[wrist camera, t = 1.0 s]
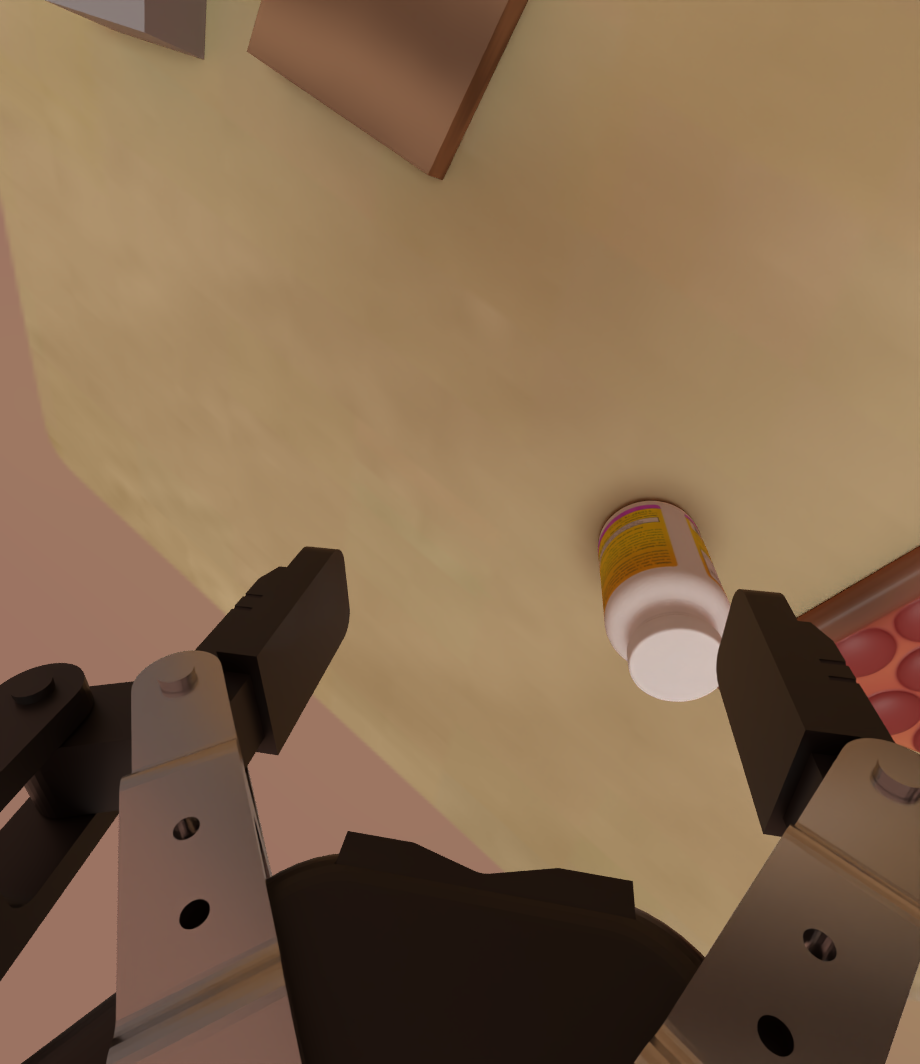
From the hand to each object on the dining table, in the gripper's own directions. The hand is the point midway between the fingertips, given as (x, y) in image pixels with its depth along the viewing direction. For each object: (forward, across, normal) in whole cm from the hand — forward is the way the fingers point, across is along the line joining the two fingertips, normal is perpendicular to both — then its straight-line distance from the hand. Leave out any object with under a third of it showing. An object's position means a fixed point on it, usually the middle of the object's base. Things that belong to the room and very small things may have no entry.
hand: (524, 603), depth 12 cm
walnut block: (+26, +9, -16) cm, 32 cm away
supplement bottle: (+26, -7, +12) cm, 30 cm away
